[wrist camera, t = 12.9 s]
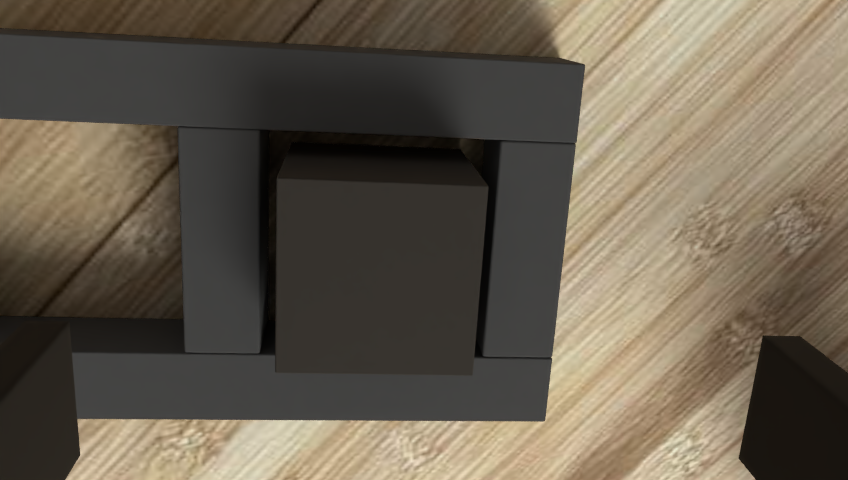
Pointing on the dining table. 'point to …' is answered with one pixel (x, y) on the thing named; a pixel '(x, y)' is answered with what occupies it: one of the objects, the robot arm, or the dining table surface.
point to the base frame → (249, 214)
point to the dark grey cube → (377, 260)
